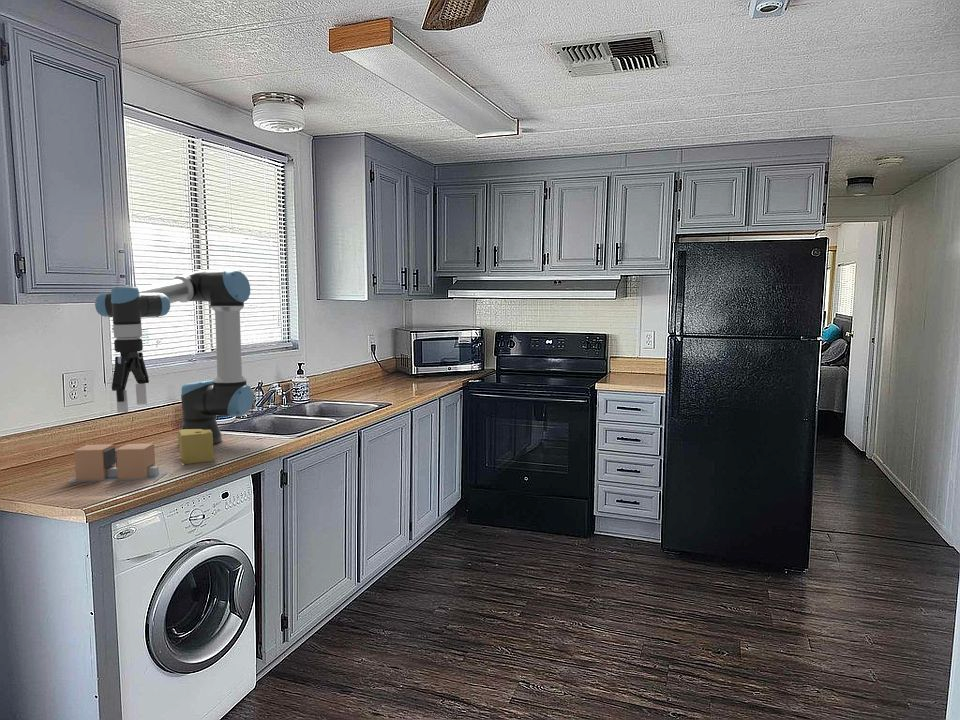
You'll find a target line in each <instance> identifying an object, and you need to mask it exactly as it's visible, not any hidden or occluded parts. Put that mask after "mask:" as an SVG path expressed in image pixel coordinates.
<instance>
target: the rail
mask: <svg viewBox="0 0 960 720" xmlns="http://www.w3.org/2000/svg"><path fill="white" fill-rule="evenodd" d="M159 467H160V466H159V465H155V466H149V467H147V473H148V477H147V478H146V479H118V474H117V468H116V466H115V467H108V468H106V477H107V478H106V479H104V480H76V476H75V477H73V478H71V479H69V480H66V482H68V483H69V482H71V483H72V482H74V483H76V482H108V481H109V482H110V481H116V482H117V481H148V480H150V481H153V483H152V484H155V483H156V482H158V481H159V480H160V479H162V478H164V477H165V476H166V475H167V470H160V469H159ZM164 473H165V474H164ZM163 474H164V475H163ZM160 476H161V477H160ZM157 478H158V479H157ZM154 480H155V481H154Z"/></svg>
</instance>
